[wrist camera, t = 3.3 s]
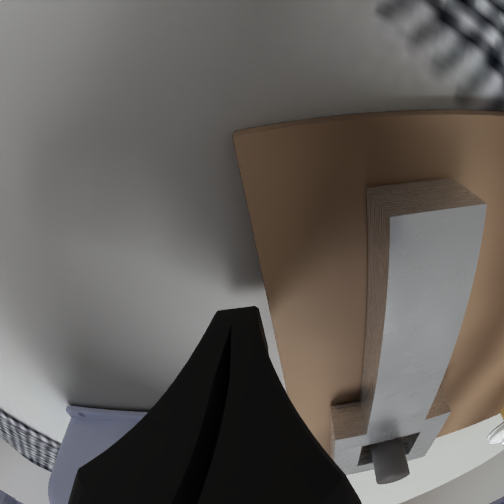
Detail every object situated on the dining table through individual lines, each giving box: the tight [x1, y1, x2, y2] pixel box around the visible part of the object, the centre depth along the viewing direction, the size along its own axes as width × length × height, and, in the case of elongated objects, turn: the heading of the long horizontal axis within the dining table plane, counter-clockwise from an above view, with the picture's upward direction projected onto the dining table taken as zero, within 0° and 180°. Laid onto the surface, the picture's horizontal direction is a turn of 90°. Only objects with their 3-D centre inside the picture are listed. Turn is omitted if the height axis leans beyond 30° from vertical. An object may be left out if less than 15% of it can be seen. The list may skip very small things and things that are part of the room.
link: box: [330, 178, 487, 475], centre depth 12 cm, size 17×6×2 cm, turn 11°
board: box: [233, 110, 504, 484], centre depth 11 cm, size 20×22×5 cm
